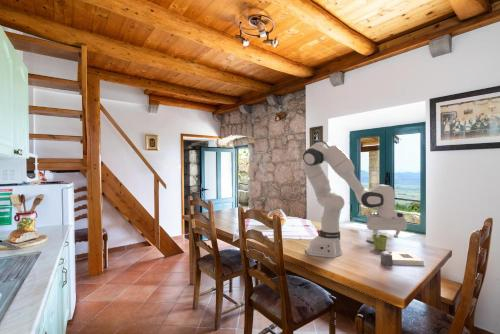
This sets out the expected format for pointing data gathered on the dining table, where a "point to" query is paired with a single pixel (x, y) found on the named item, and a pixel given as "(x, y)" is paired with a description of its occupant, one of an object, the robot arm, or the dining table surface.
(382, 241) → the plant pot
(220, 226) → the dining table surface
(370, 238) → the flower in vase
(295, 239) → the dining table surface
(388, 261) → the plug
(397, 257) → the socket plate
